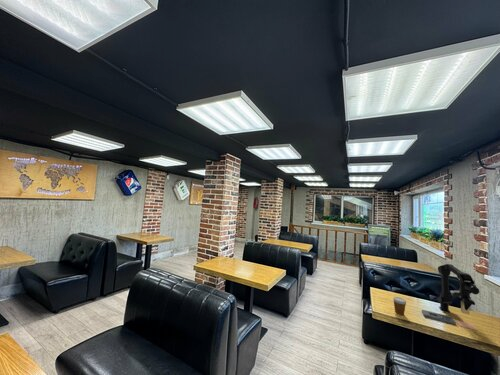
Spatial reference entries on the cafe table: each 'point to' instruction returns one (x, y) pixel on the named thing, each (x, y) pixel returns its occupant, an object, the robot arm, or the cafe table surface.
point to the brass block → (464, 309)
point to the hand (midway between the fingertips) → (465, 308)
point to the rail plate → (438, 317)
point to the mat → (465, 325)
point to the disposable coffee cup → (399, 305)
